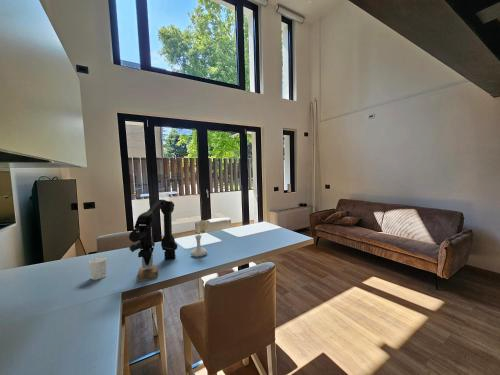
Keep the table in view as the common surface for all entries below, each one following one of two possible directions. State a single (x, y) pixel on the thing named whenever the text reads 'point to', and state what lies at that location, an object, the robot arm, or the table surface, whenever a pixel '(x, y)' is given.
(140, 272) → the tan block
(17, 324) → the table surface
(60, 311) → the table surface
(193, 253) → the flower in vase
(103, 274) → the white cup
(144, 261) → the gray cube
